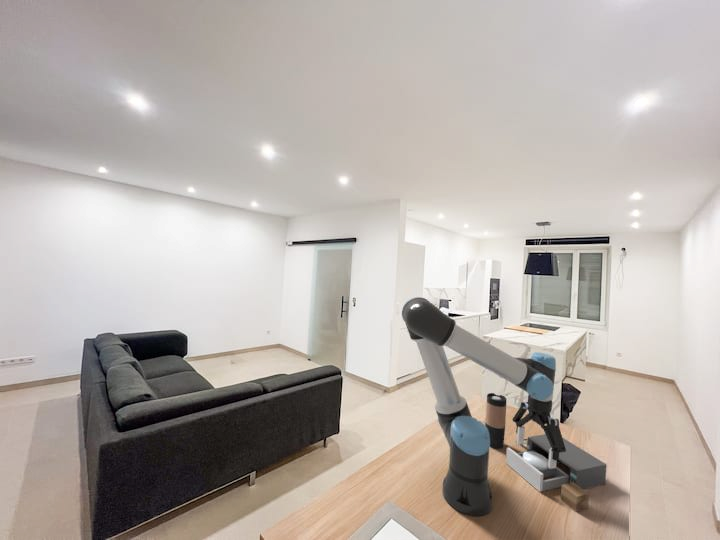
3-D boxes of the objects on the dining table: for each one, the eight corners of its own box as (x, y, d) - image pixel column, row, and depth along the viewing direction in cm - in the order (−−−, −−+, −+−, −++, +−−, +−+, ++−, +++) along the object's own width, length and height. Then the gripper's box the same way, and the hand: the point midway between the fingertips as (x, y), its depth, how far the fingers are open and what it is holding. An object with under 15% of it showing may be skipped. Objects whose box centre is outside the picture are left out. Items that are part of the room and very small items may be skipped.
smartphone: (547, 466, 114) (547, 463, 114) (515, 443, 128) (516, 440, 128) (563, 463, 117) (563, 460, 116) (530, 440, 131) (530, 437, 131)
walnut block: (575, 511, 92) (576, 496, 92) (560, 499, 97) (561, 484, 97) (587, 508, 94) (588, 493, 94) (572, 496, 99) (573, 482, 99)
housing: (573, 491, 101) (575, 471, 101) (525, 454, 120) (526, 437, 120) (605, 483, 105) (606, 464, 105) (553, 449, 124) (554, 432, 124)
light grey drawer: (539, 491, 100) (540, 474, 100) (505, 462, 114) (506, 447, 114) (569, 484, 104) (570, 468, 104) (533, 457, 118) (534, 443, 118)
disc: (553, 468, 106) (553, 463, 106) (535, 471, 104) (536, 467, 104) (534, 454, 114) (534, 449, 114) (517, 457, 111) (517, 453, 111)
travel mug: (492, 450, 122) (495, 401, 121) (480, 439, 129) (482, 393, 129) (508, 448, 124) (511, 400, 123) (495, 437, 131) (497, 392, 131)
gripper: (582, 413, 97) (576, 477, 98) (520, 382, 121) (516, 434, 122) (565, 415, 95) (559, 481, 96) (505, 383, 119) (501, 436, 119)
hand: (534, 455), depth 109 cm, fingers open, 13 cm apart
